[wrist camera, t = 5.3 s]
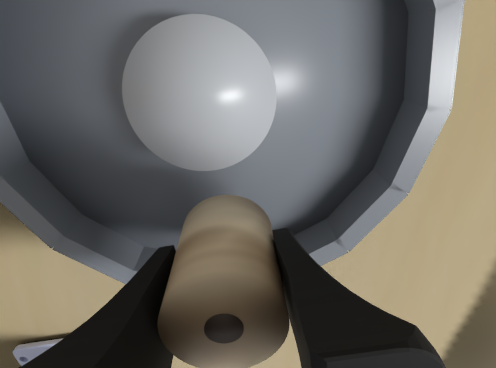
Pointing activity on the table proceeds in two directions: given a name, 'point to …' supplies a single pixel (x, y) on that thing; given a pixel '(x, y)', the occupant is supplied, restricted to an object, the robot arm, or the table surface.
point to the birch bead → (224, 288)
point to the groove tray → (217, 116)
